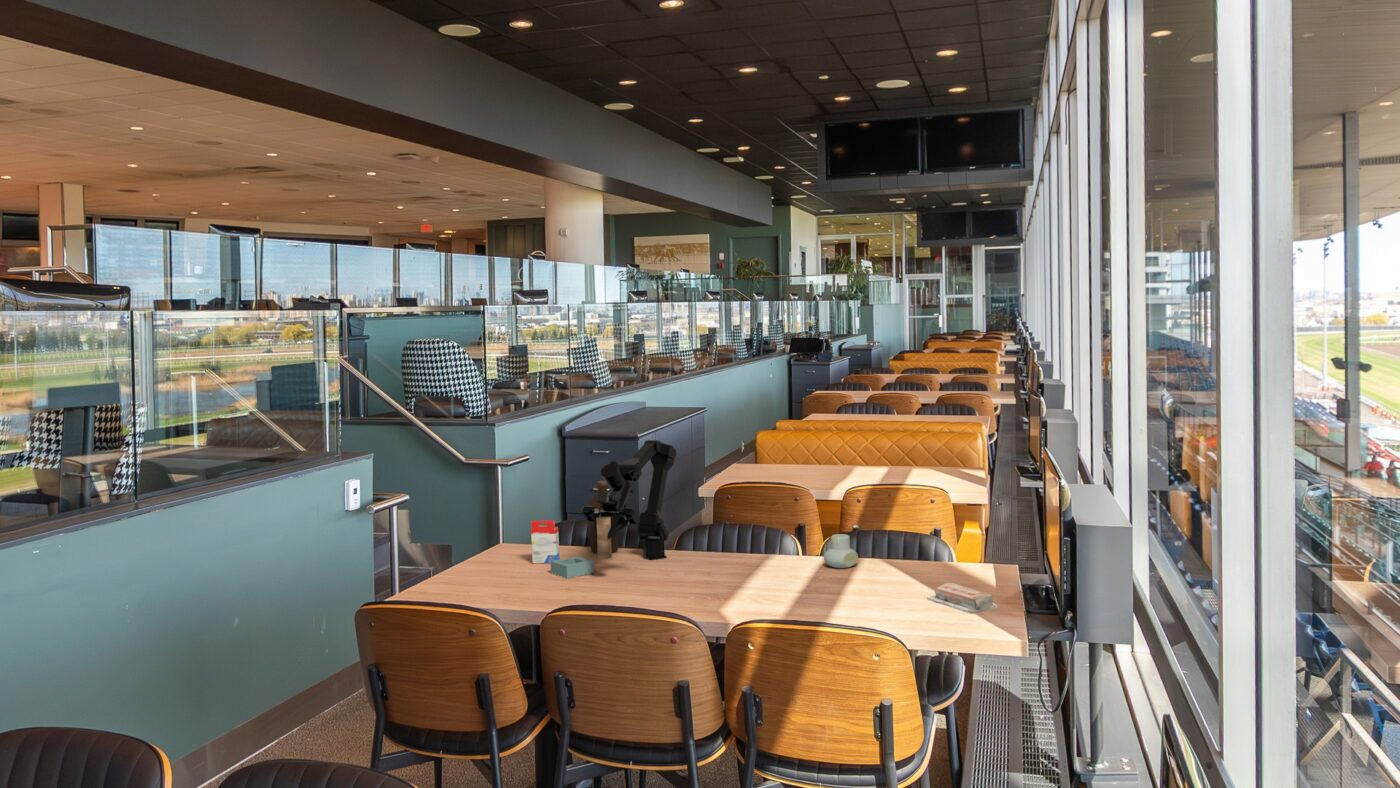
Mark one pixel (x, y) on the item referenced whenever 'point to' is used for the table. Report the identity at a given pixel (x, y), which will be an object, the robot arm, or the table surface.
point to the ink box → (544, 542)
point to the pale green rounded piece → (840, 552)
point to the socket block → (572, 567)
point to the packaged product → (963, 598)
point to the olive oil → (614, 539)
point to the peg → (603, 538)
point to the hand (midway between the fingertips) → (601, 537)
